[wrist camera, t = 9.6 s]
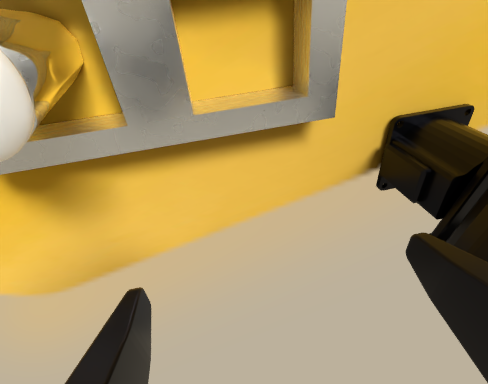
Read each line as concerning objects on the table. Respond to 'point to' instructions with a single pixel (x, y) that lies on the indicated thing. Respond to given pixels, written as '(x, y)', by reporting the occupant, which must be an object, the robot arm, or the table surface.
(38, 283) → the table surface
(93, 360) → the robot arm
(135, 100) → the block
